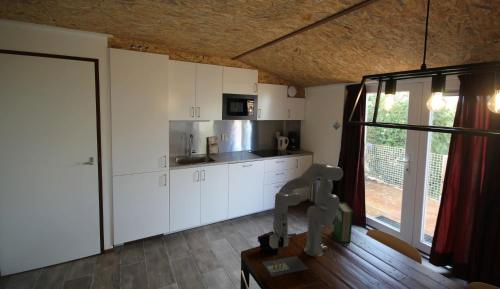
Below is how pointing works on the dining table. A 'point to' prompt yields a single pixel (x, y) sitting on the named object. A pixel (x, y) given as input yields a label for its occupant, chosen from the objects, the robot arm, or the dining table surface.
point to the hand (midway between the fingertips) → (278, 244)
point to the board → (284, 266)
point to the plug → (275, 239)
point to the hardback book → (343, 223)
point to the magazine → (266, 243)
